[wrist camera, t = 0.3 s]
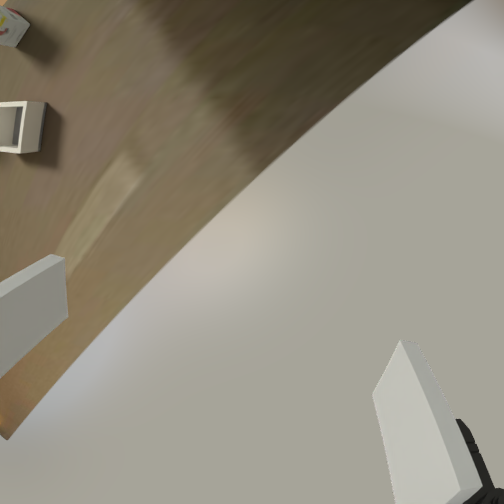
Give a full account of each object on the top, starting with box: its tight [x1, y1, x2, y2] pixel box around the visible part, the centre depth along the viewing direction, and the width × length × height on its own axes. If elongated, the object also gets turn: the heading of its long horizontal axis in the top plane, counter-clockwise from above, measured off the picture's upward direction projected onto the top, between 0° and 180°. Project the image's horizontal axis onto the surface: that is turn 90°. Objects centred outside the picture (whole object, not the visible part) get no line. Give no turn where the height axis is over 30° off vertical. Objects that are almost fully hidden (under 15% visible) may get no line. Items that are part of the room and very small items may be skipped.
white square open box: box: [0, 101, 47, 154], centre depth 36 cm, size 7×7×4 cm
